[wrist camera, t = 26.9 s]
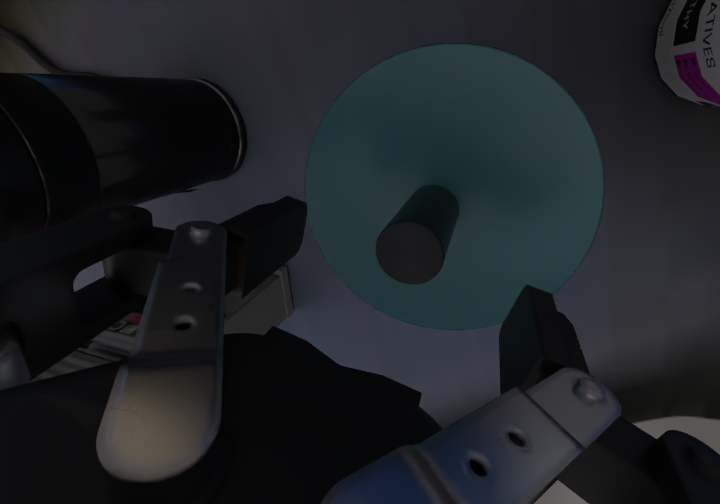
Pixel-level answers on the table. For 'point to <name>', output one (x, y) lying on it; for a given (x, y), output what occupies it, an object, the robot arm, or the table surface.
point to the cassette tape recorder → (239, 317)
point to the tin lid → (454, 185)
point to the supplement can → (691, 50)
